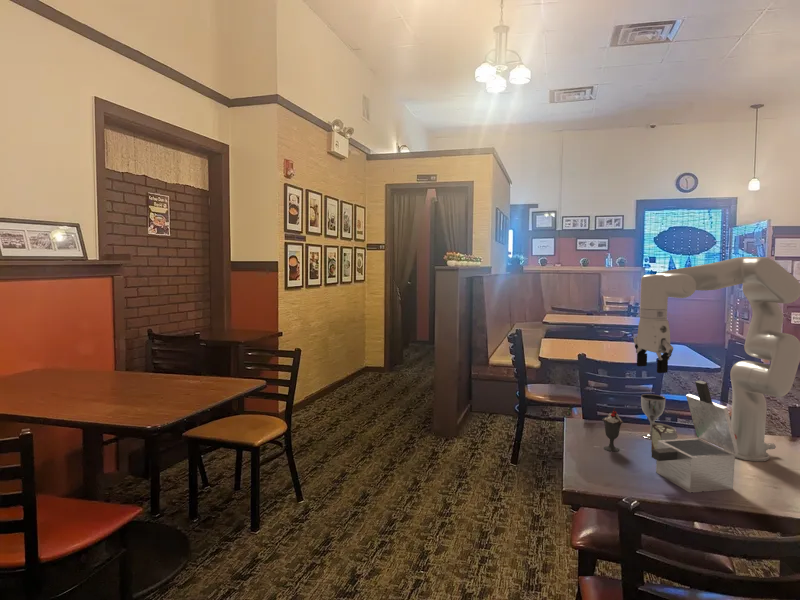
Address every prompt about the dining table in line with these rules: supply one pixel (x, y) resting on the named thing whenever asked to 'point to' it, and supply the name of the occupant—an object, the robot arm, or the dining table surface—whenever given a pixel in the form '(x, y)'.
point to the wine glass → (652, 409)
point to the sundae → (612, 429)
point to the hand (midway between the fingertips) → (651, 369)
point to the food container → (662, 433)
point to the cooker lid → (711, 419)
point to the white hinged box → (694, 464)
